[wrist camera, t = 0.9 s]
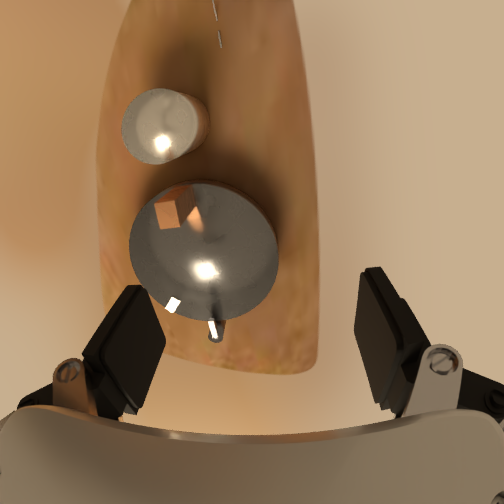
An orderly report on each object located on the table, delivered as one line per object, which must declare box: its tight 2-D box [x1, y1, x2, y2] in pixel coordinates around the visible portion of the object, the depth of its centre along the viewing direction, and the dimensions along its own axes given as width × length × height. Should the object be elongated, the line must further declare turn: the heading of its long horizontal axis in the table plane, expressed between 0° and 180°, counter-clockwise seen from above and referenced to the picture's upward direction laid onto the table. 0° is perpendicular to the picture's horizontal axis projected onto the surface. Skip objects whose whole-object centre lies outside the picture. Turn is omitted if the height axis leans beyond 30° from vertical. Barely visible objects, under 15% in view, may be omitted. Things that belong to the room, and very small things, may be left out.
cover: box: [122, 88, 210, 164], centre depth 21 cm, size 6×6×6 cm
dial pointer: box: [208, 318, 226, 343], centre depth 31 cm, size 3×2×4 cm, turn 7°
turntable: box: [129, 179, 278, 321], centre depth 25 cm, size 15×15×7 cm
